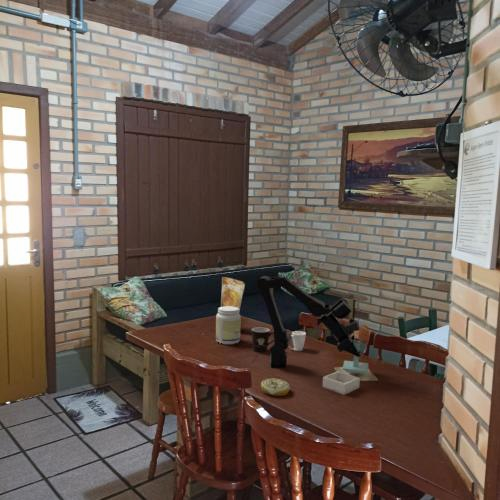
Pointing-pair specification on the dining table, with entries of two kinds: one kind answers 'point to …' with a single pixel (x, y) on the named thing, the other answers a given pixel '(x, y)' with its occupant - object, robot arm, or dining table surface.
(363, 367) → the lid
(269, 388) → the decorated donut
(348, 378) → the tub
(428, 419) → the dining table surface
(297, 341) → the cup
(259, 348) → the coffee mug
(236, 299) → the pancake mix bag
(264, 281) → the robot arm
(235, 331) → the supplement tub
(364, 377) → the board
